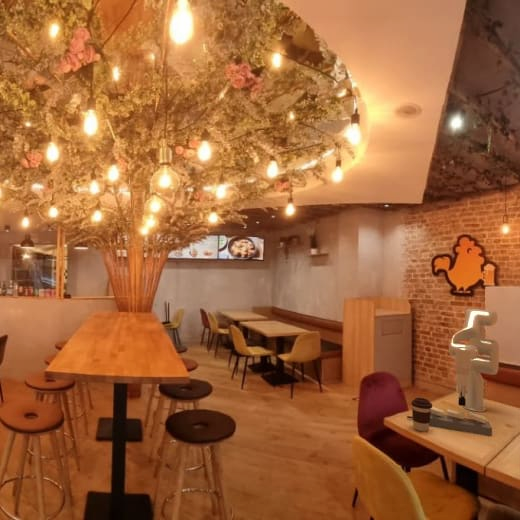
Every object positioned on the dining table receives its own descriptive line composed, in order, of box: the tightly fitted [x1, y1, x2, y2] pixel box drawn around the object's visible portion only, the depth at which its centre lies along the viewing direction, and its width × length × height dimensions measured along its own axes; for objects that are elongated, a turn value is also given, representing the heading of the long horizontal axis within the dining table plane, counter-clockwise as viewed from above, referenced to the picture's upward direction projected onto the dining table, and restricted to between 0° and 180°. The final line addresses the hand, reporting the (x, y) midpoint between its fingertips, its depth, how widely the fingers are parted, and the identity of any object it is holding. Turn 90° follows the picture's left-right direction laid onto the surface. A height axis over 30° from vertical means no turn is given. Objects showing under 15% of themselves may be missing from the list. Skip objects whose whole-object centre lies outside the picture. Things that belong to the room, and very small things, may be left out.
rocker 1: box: [431, 406, 445, 417], centre depth 221 cm, size 5×8×2 cm, turn 69°
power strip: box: [406, 413, 493, 437], centre depth 217 cm, size 10×40×5 cm, turn 69°
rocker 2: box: [467, 410, 487, 424], centre depth 214 cm, size 5×8×2 cm, turn 69°
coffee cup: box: [411, 397, 433, 432], centre depth 211 cm, size 10×10×15 cm
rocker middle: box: [446, 408, 466, 419], centre depth 218 cm, size 5×8×2 cm, turn 69°
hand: (461, 405), depth 217 cm, fingers closed
